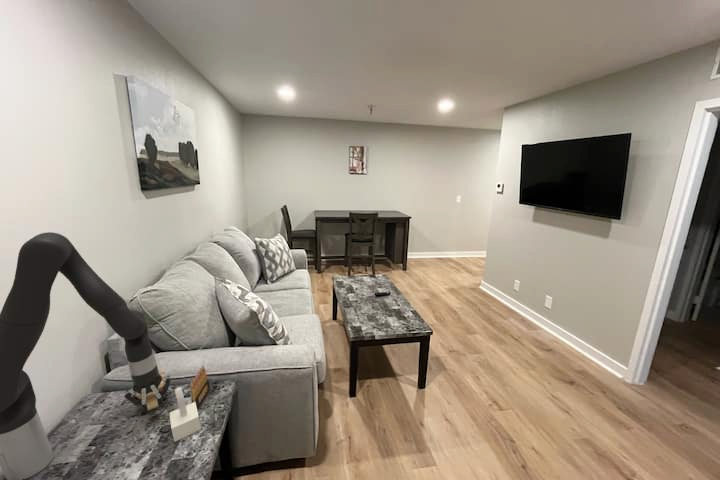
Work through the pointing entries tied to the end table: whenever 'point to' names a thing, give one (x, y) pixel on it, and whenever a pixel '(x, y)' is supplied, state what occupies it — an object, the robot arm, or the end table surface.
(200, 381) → the ammunition clip
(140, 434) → the end table surface
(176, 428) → the ring stand
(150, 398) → the oak link
